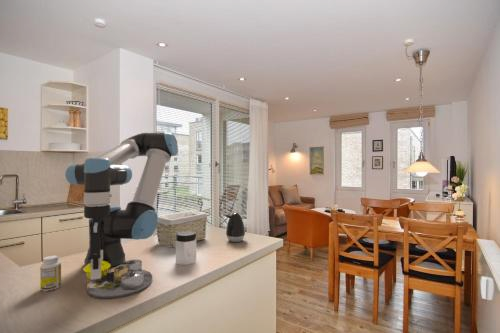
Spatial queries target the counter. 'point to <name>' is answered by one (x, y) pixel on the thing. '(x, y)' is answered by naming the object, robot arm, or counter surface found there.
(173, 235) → the storage basket
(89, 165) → the robot arm
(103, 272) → the gear
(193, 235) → the jar
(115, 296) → the carrier
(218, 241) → the counter surface
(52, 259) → the supplement bottle
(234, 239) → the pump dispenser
